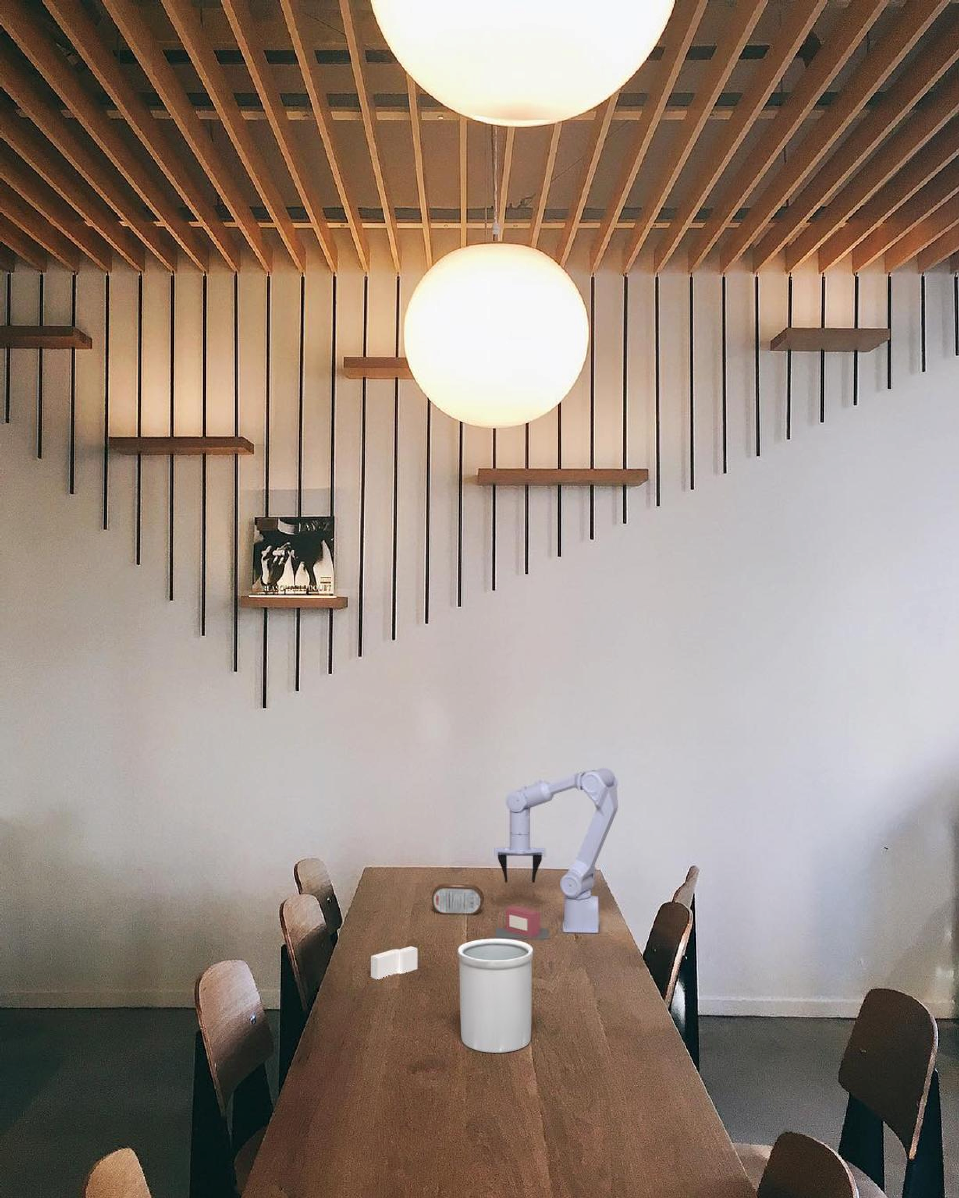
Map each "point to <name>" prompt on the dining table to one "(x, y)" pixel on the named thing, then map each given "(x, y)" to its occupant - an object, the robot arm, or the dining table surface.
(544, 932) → the mat
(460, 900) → the tin
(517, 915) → the box
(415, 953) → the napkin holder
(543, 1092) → the dining table surface
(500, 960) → the utensil holder
